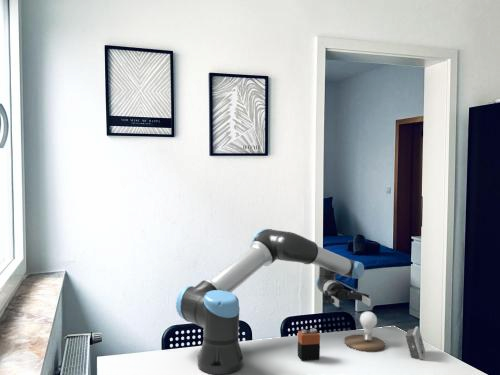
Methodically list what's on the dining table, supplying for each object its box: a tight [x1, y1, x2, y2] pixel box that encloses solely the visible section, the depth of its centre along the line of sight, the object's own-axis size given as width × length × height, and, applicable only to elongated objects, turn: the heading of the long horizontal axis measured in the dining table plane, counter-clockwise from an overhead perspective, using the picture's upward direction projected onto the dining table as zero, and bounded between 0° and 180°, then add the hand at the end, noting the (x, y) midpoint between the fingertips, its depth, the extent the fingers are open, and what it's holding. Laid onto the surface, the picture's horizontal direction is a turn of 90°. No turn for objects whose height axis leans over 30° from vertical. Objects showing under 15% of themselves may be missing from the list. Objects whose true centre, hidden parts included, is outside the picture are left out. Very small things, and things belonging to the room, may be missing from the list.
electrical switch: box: [405, 326, 426, 361], centre depth 153 cm, size 9×5×9 cm, turn 152°
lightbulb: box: [359, 310, 378, 341], centre depth 163 cm, size 6×6×11 cm
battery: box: [297, 327, 321, 362], centre depth 148 cm, size 4×7×10 cm, turn 102°
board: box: [344, 333, 386, 353], centre depth 162 cm, size 15×15×1 cm
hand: (354, 303), depth 171 cm, fingers open, 13 cm apart
